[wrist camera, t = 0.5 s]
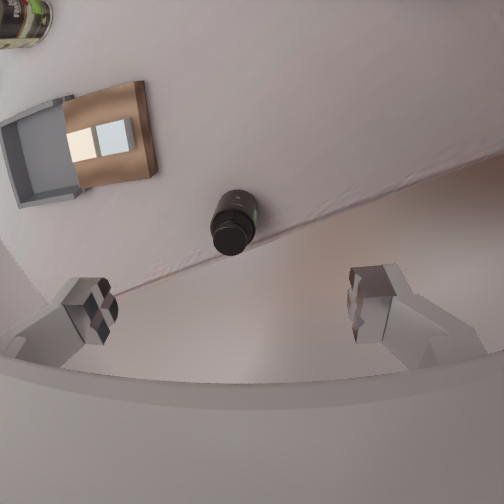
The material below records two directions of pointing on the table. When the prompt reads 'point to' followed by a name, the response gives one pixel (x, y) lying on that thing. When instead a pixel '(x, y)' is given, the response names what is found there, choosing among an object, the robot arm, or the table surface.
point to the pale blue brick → (115, 136)
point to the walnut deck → (106, 110)
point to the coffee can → (23, 22)
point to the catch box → (39, 155)
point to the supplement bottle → (234, 222)
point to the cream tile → (84, 144)
